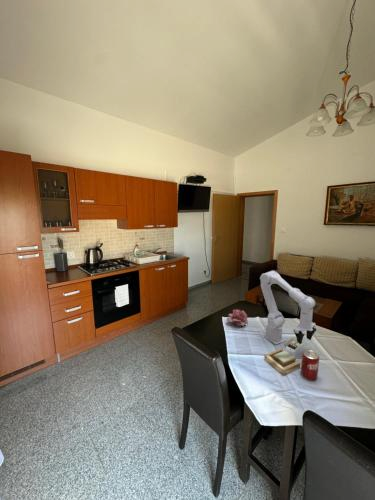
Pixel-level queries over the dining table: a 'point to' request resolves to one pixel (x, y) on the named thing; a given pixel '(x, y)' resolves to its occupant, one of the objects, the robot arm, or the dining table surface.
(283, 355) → the open box
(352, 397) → the dining table surface
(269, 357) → the bay
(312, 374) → the soda can
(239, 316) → the flower
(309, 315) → the robot arm
